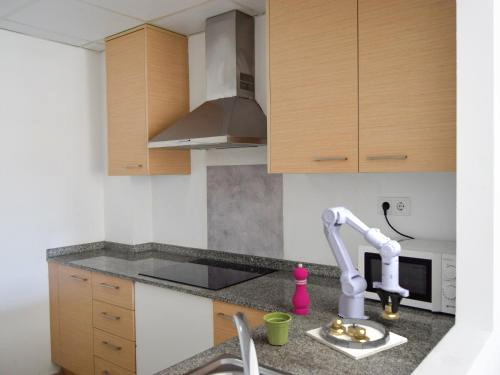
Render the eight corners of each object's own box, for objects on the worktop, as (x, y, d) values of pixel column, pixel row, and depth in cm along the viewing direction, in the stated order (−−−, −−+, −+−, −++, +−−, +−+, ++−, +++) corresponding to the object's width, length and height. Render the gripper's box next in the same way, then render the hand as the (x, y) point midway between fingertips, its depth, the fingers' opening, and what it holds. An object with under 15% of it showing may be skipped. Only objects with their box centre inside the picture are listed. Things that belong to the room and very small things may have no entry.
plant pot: (271, 350, 135) (271, 324, 134) (259, 339, 143) (259, 315, 143) (296, 345, 138) (296, 319, 138) (283, 335, 147) (283, 310, 147)
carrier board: (305, 334, 147) (305, 331, 147) (354, 320, 160) (354, 317, 160) (355, 360, 127) (355, 356, 127) (407, 341, 139) (407, 338, 139)
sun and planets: (325, 331, 147) (324, 318, 147) (343, 326, 152) (342, 313, 151) (360, 348, 133) (360, 334, 133) (379, 341, 137) (379, 328, 137)
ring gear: (308, 331, 147) (308, 326, 147) (354, 318, 159) (354, 313, 158) (355, 355, 128) (355, 348, 128) (403, 338, 139) (403, 332, 139)
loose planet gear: (378, 316, 154) (378, 304, 153) (389, 313, 157) (389, 301, 156) (391, 321, 148) (391, 308, 148) (402, 317, 151) (402, 305, 151)
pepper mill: (290, 314, 168) (289, 265, 167) (294, 308, 175) (293, 261, 174) (307, 316, 166) (307, 266, 165) (311, 310, 172) (310, 262, 171)
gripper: (414, 277, 148) (414, 314, 148) (381, 268, 160) (381, 303, 161) (401, 280, 144) (401, 318, 145) (369, 271, 156) (369, 307, 157)
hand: (390, 311), depth 152 cm, fingers closed on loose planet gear, 4 cm apart
